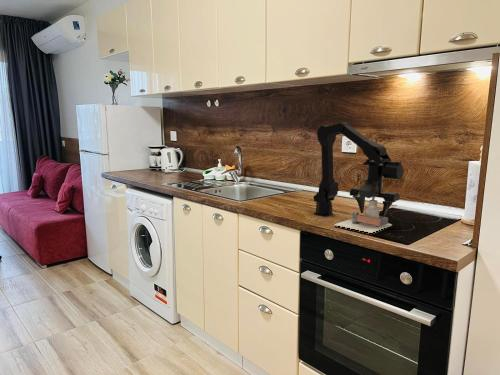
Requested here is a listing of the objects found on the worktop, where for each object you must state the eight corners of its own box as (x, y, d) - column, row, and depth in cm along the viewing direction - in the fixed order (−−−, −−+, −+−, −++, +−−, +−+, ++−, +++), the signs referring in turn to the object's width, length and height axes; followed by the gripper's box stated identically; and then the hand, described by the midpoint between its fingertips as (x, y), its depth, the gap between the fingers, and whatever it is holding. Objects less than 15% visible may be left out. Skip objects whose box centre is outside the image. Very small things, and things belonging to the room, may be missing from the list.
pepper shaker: (373, 222, 151) (375, 199, 150) (379, 224, 147) (380, 201, 146) (364, 222, 150) (366, 199, 149) (369, 225, 147) (371, 201, 145)
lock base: (334, 225, 148) (334, 218, 147) (355, 218, 159) (356, 211, 159) (371, 234, 136) (372, 226, 136) (391, 225, 148) (392, 218, 148)
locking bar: (351, 223, 149) (351, 212, 149) (354, 222, 151) (354, 211, 150) (377, 229, 141) (378, 218, 140) (380, 228, 142) (381, 217, 142)
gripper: (343, 176, 147) (341, 214, 149) (388, 181, 134) (385, 223, 136) (357, 173, 154) (355, 210, 157) (401, 178, 141) (398, 218, 144)
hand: (372, 215), depth 148 cm, fingers open, 9 cm apart
